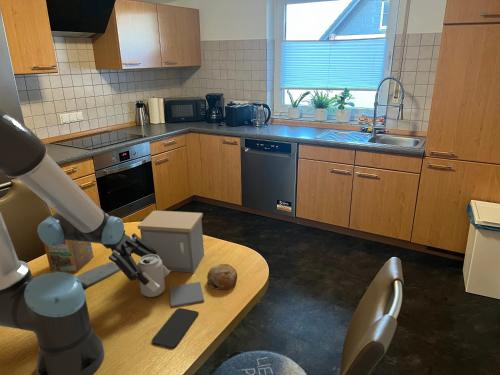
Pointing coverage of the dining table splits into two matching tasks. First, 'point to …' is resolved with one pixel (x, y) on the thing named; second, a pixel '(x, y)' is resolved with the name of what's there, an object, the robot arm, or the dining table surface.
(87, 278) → the cleaver
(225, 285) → the bread roll
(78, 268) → the milk carton
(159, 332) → the phone
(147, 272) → the can
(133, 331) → the dining table surface
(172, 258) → the cabinet
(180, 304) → the mat
